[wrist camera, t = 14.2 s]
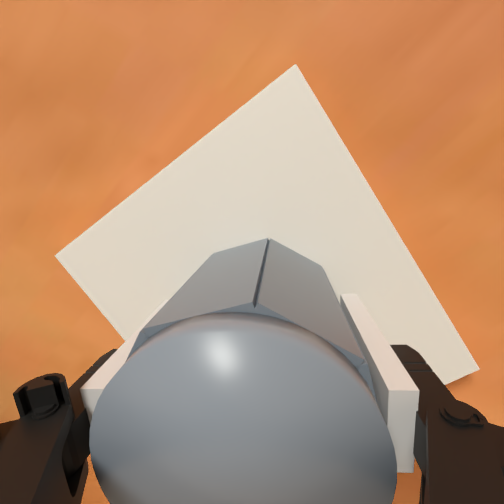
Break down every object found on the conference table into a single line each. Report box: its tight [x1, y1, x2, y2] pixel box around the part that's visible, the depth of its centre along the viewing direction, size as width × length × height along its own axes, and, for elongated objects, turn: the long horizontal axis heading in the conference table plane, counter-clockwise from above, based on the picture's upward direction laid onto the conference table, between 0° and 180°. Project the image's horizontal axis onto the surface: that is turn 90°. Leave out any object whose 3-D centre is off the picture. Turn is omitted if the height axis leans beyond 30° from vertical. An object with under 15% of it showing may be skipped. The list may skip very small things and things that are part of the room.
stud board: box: [55, 64, 479, 385], centre depth 14 cm, size 18×16×8 cm
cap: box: [89, 238, 397, 504], centre depth 11 cm, size 8×8×9 cm
